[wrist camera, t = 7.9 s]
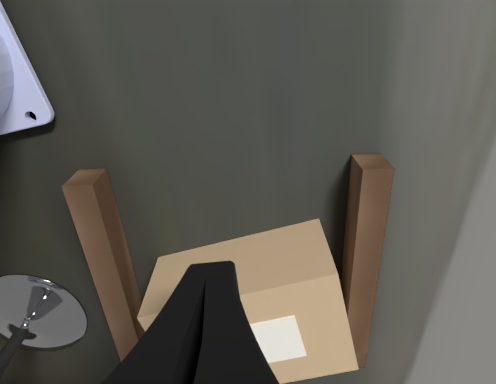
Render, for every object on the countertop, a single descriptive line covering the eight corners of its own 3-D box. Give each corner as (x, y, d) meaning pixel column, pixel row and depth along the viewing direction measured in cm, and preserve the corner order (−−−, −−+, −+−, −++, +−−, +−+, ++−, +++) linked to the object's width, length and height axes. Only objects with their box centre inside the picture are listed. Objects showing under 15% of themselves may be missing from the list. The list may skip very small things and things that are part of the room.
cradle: (134, 352, 25) (126, 378, 24) (79, 169, 19) (61, 186, 17) (356, 342, 25) (364, 367, 23) (380, 152, 18) (394, 168, 17)
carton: (197, 331, 25) (186, 402, 20) (159, 254, 22) (136, 319, 17) (337, 301, 24) (359, 370, 19) (318, 216, 21) (338, 274, 16)
